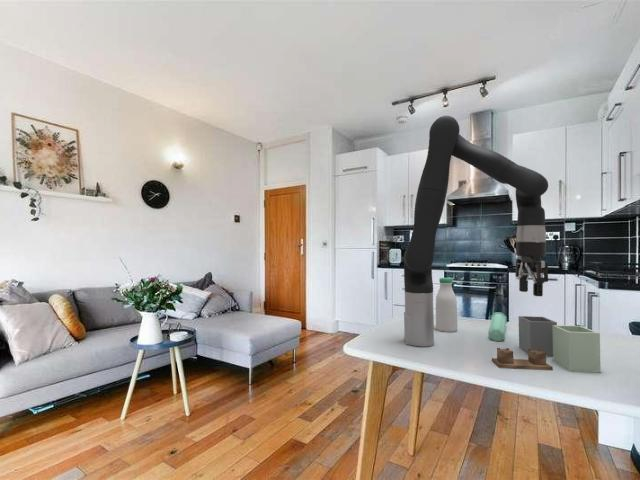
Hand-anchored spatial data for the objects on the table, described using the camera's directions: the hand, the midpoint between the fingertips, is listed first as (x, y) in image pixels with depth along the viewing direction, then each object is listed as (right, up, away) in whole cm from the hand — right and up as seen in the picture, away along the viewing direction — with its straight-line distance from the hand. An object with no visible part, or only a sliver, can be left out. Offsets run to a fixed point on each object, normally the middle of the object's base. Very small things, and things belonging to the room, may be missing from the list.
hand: (530, 293), depth 96 cm
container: (+2, -19, +21) cm, 28 cm away
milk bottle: (-15, -19, +26) cm, 35 cm away
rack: (-10, -18, -11) cm, 23 cm away
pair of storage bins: (+3, -18, -5) cm, 19 cm away
